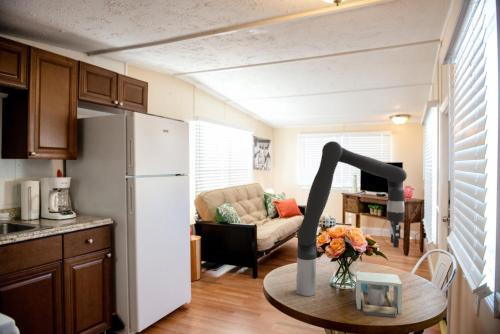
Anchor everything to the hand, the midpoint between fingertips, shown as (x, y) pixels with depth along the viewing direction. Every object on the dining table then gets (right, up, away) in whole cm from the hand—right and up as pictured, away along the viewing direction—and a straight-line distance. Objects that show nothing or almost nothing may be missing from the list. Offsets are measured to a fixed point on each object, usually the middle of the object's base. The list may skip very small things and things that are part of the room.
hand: (394, 245), depth 158 cm
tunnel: (-10, -25, -7) cm, 28 cm away
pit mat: (-13, -26, -16) cm, 33 cm away
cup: (-10, -26, -7) cm, 29 cm away
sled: (-9, -25, -3) cm, 27 cm away
